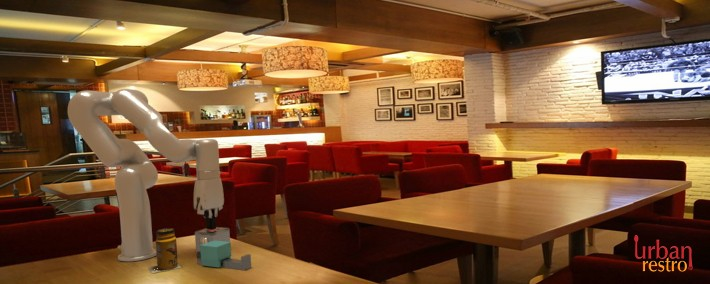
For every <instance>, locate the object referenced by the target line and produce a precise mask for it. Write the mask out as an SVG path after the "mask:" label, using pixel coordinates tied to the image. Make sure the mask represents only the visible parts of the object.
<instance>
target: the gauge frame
mask: <svg viewBox="0 0 710 284" xmlns="http://www.w3.org/2000/svg"><path fill="white" fill-rule="evenodd" d="M216 229H217V230H216V231H213V232H210V231H208V229H206V228H203V229H199V230H196V231H194V238H195V253H196V254H195V255H196V256H197V251H200V245H202V244H205V243H208V242H211V241H224V242H231V236H230V227H220V226H219V227H218V226H216Z"/></svg>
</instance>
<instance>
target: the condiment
mask: <svg viewBox="0 0 710 284" xmlns="http://www.w3.org/2000/svg"><path fill="white" fill-rule="evenodd" d="M155 233H156V239H155V249H156V254H157V255H156V263H157V264H156V265H151V266H148V269H149V271H150V270H151V271H150V272H151V273H152V274H155V273H160V272H162V271H160V270H164V271H163V272H165V270H166V271H171V270H177V269H180V268H182V267H181V265H180V264H178V263H179V262H178V257H179V255H178V248H177V238H176V236H175V235H176V234H175V229H174V228H173V227H172V228H170V227H166V228H161V229H158V230H157V231H156V232H155ZM157 268H158V269H157ZM154 269H155V270H154ZM170 269H171V270H170ZM156 270H158V271H156Z"/></svg>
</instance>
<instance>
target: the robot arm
mask: <svg viewBox="0 0 710 284" xmlns="http://www.w3.org/2000/svg"><path fill="white" fill-rule="evenodd" d="M67 105H68V106H67V116H68V121H69V122H70V123H71V124H70V125H71V126H72V127H73V128H74V130H75V131H76V132H77V133H78V134H79V136H80V137H81V138H82V139H83V141H84V142H85V144H86V145H88V147H89V148H90V149H91V150H92V152H93V154H95V156H96V157H97V158H98V159H99V161H100V162H101V163H102V164H103V165H104V166H105V167H106V168H107V167H108V168H118V167H121V168H120V169H119V170H118V171H117V172H116V174H115V177H114V187H115V192H116V194H117V199H118V200H117V201H118V209H119V220H120V234H121V235H120V237H121V245H118V246H117V250H120V251H121V253H119V254H118V255H117V260H118V261H120V262H137V261H138V262H139V261H143V260H144V261H145V260H148V259H151V258H154V257H157V254H156V248H154V244H153V241H154V240H153V231H152V214H151V205H150V204H151V203H150V198H149V194H148V191H147V189H150V188H152V187H154V185H156V183H157V182H158V179H159V173H158V170H157V167H156V166H155V165H154V164H153V163H152V161H151V160H150V159H149V157H148V156H147V154H145V152H144V151H143V150H142V148H141V147H140V146H139V145H138V144H137V143H136V142H135V141H132V140H131V139H127V138H118V136H116V135H115V134H114V132H113V131H112V130H111V129H110V127H109V126H108V125H107V123H105V122H104V121H102V120H101V119H100V118H99V117H106V116H107V117H108V116H122V117H123V118H124V119H126V120H127V121H128V122H129V123H131V124H132V125H133V126H134V127H135V128H137V130H139V131H140V132H141V133H142V134H143V135H144V137H145V139H146V140H147V141H148V143H149V144H150V145H151V146H152V148H153V149H154V150H156V151H157V152H158V153H159V154H160V155H162V156H163V157H164V158H166V159H167V160H168V161H170V162H172V163H175V164H182V163H185V162H190V161H195V167H196V168H195V169H196V180H195V181H194V186H193V187H194V188H193V209H194V210H196V211H197V212H196V214H197V215H202V216H203V218H204V219H205V229H211V230H213V229H216V227H217V217H218V213H219V211H221V210H222V209H223V208H224V207H223V206H224V203H225V197H224V188H223V182H222V178H221V171H220V170H221V169H220V154H219V153H220V152H219V150H220V149H219V142H218V140H217V139H214V138H211V139H210V138H209V139H208V138H207V139H206V138H205V139H198V140H197V139H191V138H190V139H179V138H178V137H177V136H175V135H174V134H173V133H172V132H171V131H170V130H169V129H168V128H167V127H166V126H165V124H164V122H163V115H162V114H161V113H160V112H159V111H158V110H156V109H155V107H153V106H151V105H150V104H149V99H148V97H147V95H146V94H145V93H144V92H142V91H140V90H136V89H130V88H123V89H122V88H121V89H118V90H116V91H101V90H100V91H99V90H81V91H78V92H76V93H75V94H73V95H72V96H71V98H70V99H69V102H68V104H67Z"/></svg>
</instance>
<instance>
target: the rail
mask: <svg viewBox="0 0 710 284" xmlns="http://www.w3.org/2000/svg"><path fill="white" fill-rule="evenodd" d="M251 256H252V255H251V254H250V253H247V254H244V255H242V256H240V259H238V258H237V259H236V258H232V257H231V258H225V259H222V260H220V263H221V267H220V268H225V269H232V270H240V271H246V270H248V269H251V268H252V257H251ZM196 260H197V263H196V264H197V265H202V259H201V253H200V251H197V255H196ZM202 266H203V265H202Z"/></svg>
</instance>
